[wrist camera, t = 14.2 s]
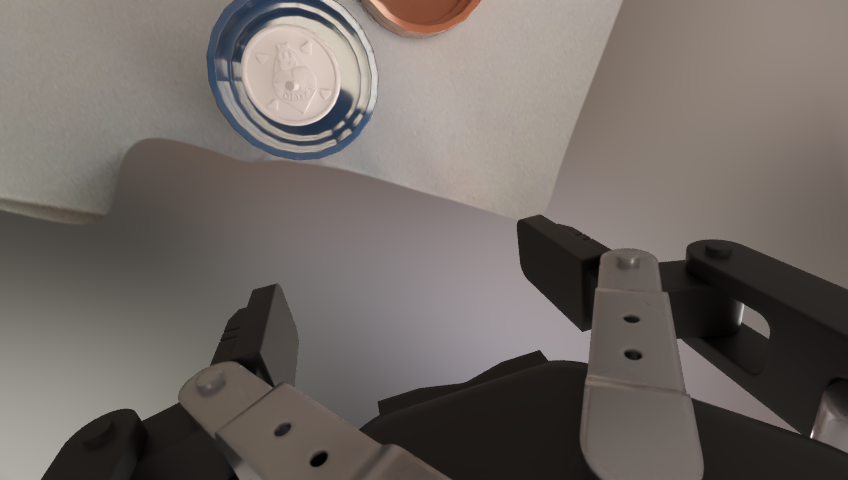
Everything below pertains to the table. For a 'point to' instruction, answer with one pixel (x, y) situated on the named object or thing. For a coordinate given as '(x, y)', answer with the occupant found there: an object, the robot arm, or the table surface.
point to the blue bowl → (319, 12)
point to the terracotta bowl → (419, 15)
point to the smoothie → (290, 74)
